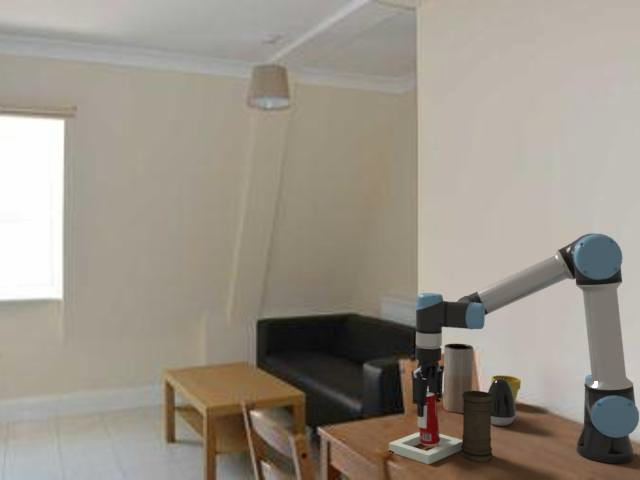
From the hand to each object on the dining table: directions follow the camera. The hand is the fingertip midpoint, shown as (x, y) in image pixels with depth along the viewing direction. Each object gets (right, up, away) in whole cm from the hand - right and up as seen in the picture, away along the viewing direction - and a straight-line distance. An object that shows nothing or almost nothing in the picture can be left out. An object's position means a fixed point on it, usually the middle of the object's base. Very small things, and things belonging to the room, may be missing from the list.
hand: (426, 425), depth 195 cm
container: (+14, -8, -4) cm, 16 cm away
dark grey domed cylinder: (+29, -7, +27) cm, 40 cm away
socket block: (0, -7, 0) cm, 7 cm away
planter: (+18, -6, +43) cm, 47 cm away
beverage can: (+1, -6, +2) cm, 6 cm away
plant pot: (+37, -6, +49) cm, 62 cm away
